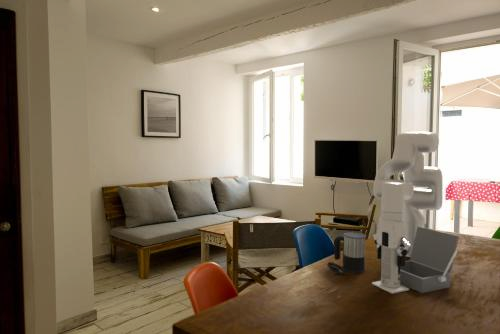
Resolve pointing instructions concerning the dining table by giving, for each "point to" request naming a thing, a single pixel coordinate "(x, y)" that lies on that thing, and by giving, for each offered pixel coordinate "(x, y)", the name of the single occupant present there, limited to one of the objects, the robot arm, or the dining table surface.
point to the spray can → (389, 264)
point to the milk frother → (349, 253)
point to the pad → (392, 290)
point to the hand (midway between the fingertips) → (390, 262)
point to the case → (429, 261)
